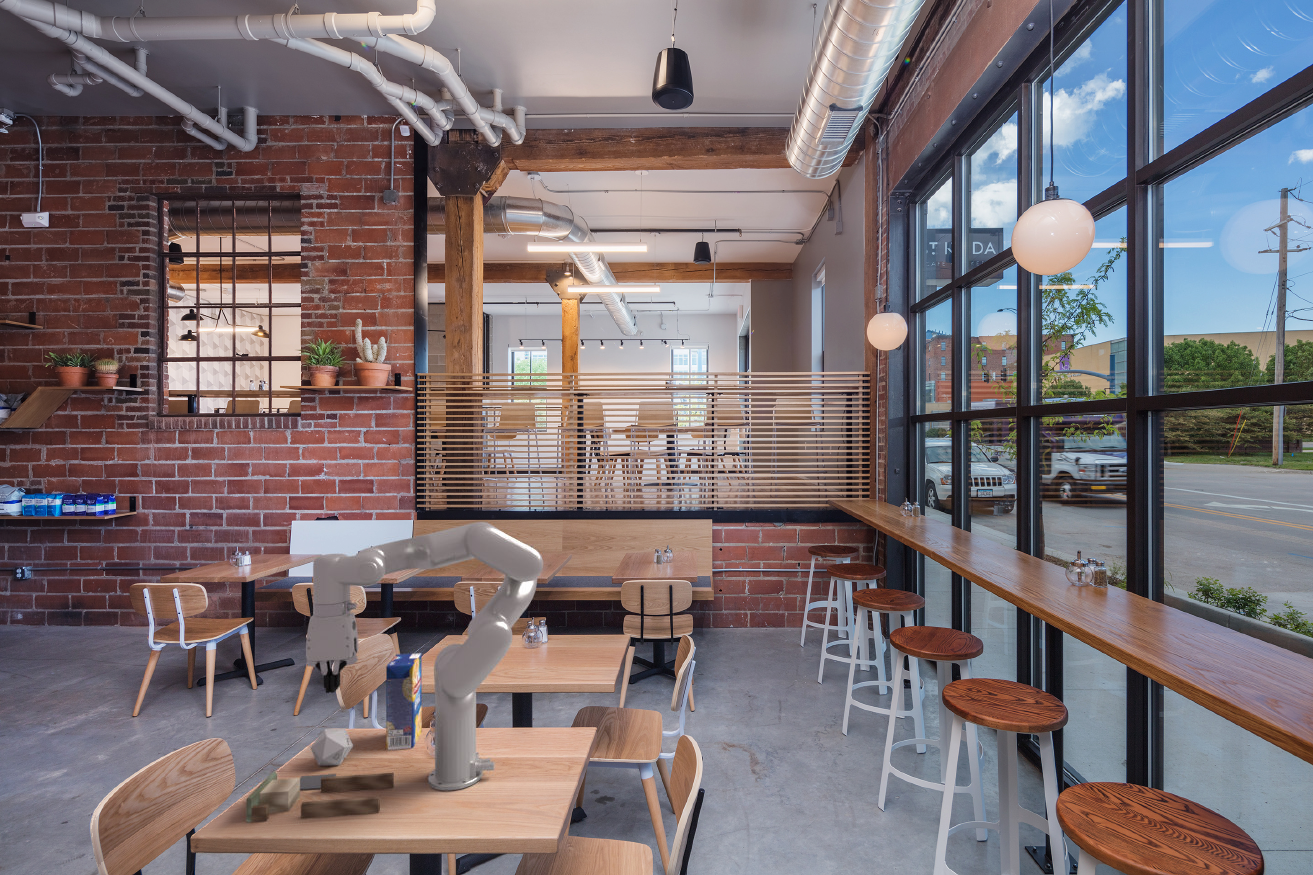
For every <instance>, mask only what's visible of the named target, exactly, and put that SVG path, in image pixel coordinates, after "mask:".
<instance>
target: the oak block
mask: <svg viewBox="0 0 1313 875" xmlns="http://www.w3.org/2000/svg"><path fill="white" fill-rule="evenodd" d="M300 778H301V777H296V778H294V777H293V778H283V779H282V778H279V779H278V778H277V780H272V781H271V782H270V783H269V784H268V785H267V786H266V787H265V788H264V789H263V790H262V791H261V792H260V799H259V805H266V804H269V813H270V814H271V813H282V812H283V813H285V812H289V811H290V810H291V809H292V808H293V807H294V806H295V804H296V803H297V802H298V800H299V799H300V798H301V790H300ZM269 813H268V814H269Z"/></svg>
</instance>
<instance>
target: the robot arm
mask: <svg viewBox="0 0 1313 875" xmlns="http://www.w3.org/2000/svg"><path fill="white" fill-rule="evenodd" d="M474 559H476V560H478V561H479V562H481V563H483V564H484V565H486V566H488V567H490V568H492V569H493V570H496V571H498V572H500V573H501V574H503V575H504V579H503V582H502V583H501V585H500V586H499V588H498V589H497V590H496V592H495V594H493V596H492V597H491V598H490V599H489V601H487V603H485V604H484V606H483V607H482V608H481V609H480V611H479V612H477V614H476V615H475V616H473V618H472V619H471V621H469V624H468V626H467V637H468V638H467V639H466V640H465V641H464V642H463V643H462V644H461V643H453V644H452V643H451V644H449V645H447V646H445V647H443V648H442V649H441V651H439V653H438V654H437V655H436V657H435V661H434V664H433V666H434V667H433V678H434V769H433V770H432V771H431V772H430V773H428V777H427V780H428V782H427V783H428V785H429V786H430V787H431V788H433V789H435V790H438V791H439V790H440V791H456V790H462V789H464V788H468V787H470V786H472V785H474V784H476V783H478V782H479V780H481V779H482V777H483V772H484V771H487V772H488V771H489V772H490V771H495V764H496V762H495V761H492V758H491V757H490V758H489V757H488V758H481V757H480V753H479V752H477V689H478V688H479V687H480V686H481V685H482V683H483V682H484V681H485V680H486V679H487V677H489V675H490V674H491V673H492V672H493V671H494V669H495V668H496V667H497V666H498V665H499V664H500V662H501V661H502V659H503V658H504V657H505V656H506V655H507V653H508V651H509V649H510V647H511V645H512V642H513V630H512V627H513V626H514V624H516V622H517V621H519V618H520V617H521V616H522V615H523V613H525V611H526V610H527V609H528V607H529V606H530V605H531V601H532V600H533V598H534V595H535V593H536V590H537V584H538V578H539V577H540V575H541V574H542V571H543V568H544V559H543V557H542V555H541V553H540V552H539V551H538V550H536V549H535V548H533V547H532V546H530V545H529V544H527V543H525V542H524V543H523V542H522V541H519V540H517V539H516V538H514V537H512V536H510V535H509V534H507V533H505V532H504V531H502V530H500V529H499V528H497V527H495V526H494V525H492V524H491V523H488V522H486V521H478V522H472V523H468V524H464V525H460V526H456V527H452V528H448V529H444V530H439V531H436V532H431V533H428V534H421V535H417V536H415V537H409V538H403V539H400V540H394V541H391V542H387V543H382V544H379V545H375V546H371V547H367V548H364V549H361V550H360V551H358V552H357V553H356V554H355V555H350V556H349V555H347V554H344V553H327V554H322V555H319V556H317V557H315V559H314V560H313V562H312V563H313V564H312V580H313V582H312V590H313V591H312V592H313V594H312V595H313V596H312V603H313V604H312V606H313V608H312V609H313V611H312V612H313V613H312V614H313V615H312V616H310V617H309V623H308V626H307V627H308V628H307V631H306V632H307V633H306V642H305V644H306V645H305V658H306V663H305V665H306V666H307V667H311V668H316V669H317V670H318V671H319V672H321V674H322V676H323V688H324V689H325V694H329V693H331V694H334V693H335V692H337V690H338V689H339V688H340V686H341V671H342V670H343V669H344V668H345V667H346V666H350V665H354V664H356V662H357V661H359V660H358V656H357V653H358V652H359V636H358V635H359V633H358V626H357V625H358V624H357V620H356V615H355V613H354V612H352V610H356V609H357V608H358V607H357V603H356V602H352V599H351V586H353V587H370V586H374V585H376V584H378V583H379V582H381V581H382V579H384V576H387V575H389V574H393V573H396V572H401V571H406V570H411V569H412V570H413V569H420V570H435V569H440V568H443V567H446V566H451V565H453V564H457V563H461V562H465V561H470V560H474ZM332 662H333V666H332V664H331V663H332Z"/></svg>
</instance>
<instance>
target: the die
mask: <svg viewBox="0 0 1313 875" xmlns="http://www.w3.org/2000/svg"><path fill="white" fill-rule="evenodd" d="M353 748H354V744H353V743H352V740H351V738H350V735H349V733H348V731H347V729H346V728H324V729H323V731H322V732H321V733H320V734H319V736H317V738H316V740H315V741H314V742H313V744H312V745H311V746H310V750H311V752H312V754H313V757H314V758H315V762H316V763H317V765H318V766H319V767H322V766H323V767H324V766H327V767H328V766H340V765H342V762H343V761H344V760H345V758H346V757H347V756H348V755H349V753H350V751H351V750H352V749H353Z"/></svg>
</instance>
